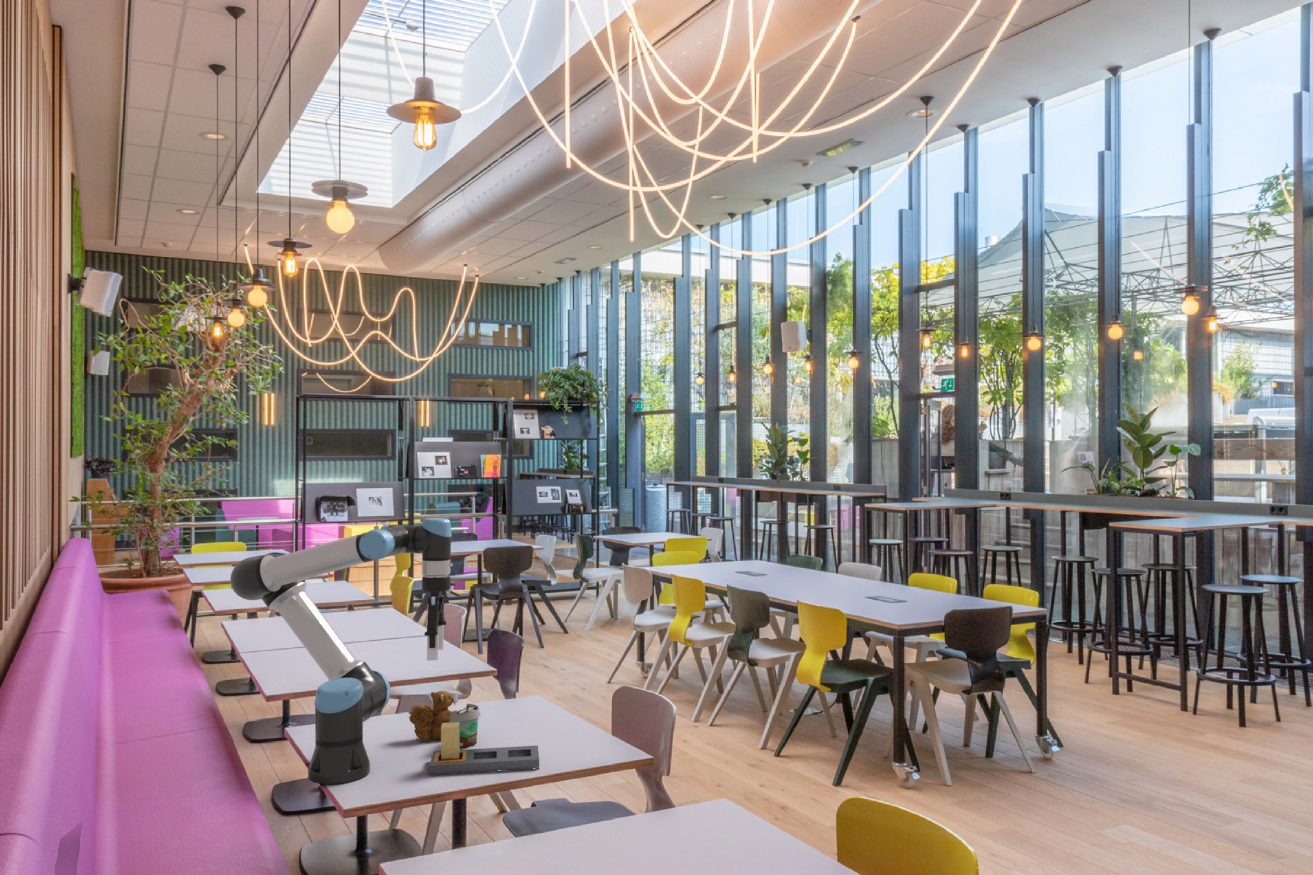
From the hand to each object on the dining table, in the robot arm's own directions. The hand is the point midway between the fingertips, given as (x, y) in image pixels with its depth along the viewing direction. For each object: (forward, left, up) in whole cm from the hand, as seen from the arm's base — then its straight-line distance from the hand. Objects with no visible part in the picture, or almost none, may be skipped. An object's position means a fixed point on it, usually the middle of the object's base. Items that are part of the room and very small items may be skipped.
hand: (435, 654), depth 252 cm
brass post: (+4, -6, -28) cm, 29 cm away
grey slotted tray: (+13, -6, -28) cm, 32 cm away
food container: (+8, +13, -29) cm, 33 cm away
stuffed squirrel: (-2, +22, -29) cm, 36 cm away
